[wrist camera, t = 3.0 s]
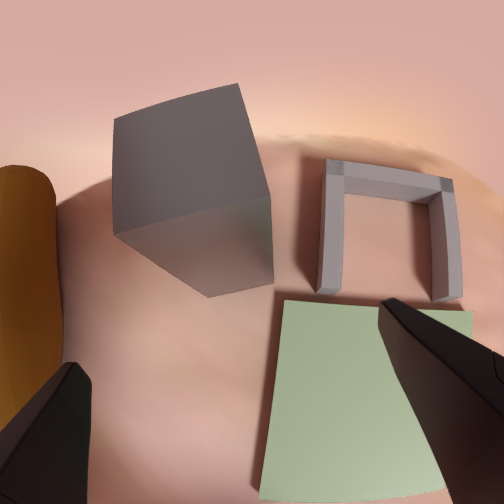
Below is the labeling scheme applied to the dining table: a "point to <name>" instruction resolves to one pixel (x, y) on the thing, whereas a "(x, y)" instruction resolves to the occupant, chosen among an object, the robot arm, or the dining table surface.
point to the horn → (27, 288)
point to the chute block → (194, 191)
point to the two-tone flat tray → (355, 363)
